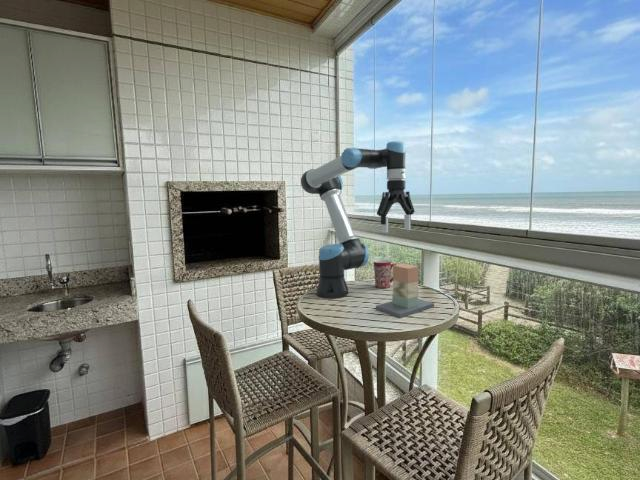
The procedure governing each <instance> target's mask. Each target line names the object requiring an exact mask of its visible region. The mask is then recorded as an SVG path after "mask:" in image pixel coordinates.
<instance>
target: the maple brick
mask: <svg viewBox="0 0 640 480" xmlns="http://www.w3.org/2000/svg"><path fill="white" fill-rule="evenodd" d="M392 294H393V295H397V296H400V297H404V298H407V299H410V298H413V297H416V296H418V297H419V281H418V282H414V283H409V284H407V283H403V282H399V281H395V280H393V281H392Z"/></svg>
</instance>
